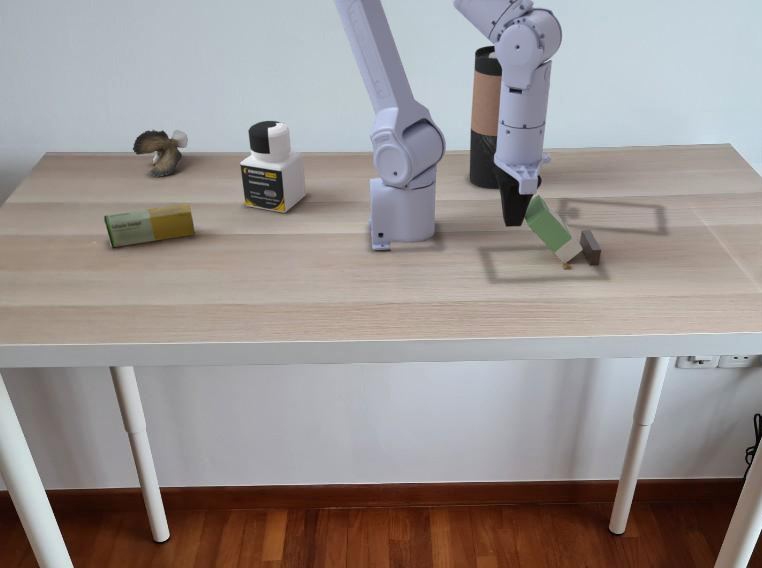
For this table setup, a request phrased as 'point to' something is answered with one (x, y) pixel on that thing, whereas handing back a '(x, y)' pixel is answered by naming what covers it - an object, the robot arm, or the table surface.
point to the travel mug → (485, 117)
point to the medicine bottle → (272, 169)
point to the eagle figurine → (161, 149)
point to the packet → (552, 229)
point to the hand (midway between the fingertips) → (512, 224)
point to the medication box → (149, 225)
